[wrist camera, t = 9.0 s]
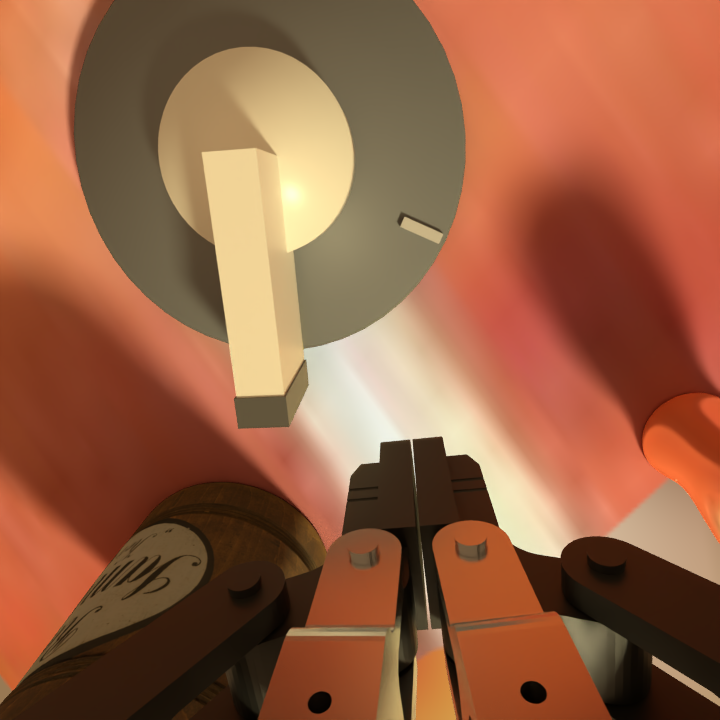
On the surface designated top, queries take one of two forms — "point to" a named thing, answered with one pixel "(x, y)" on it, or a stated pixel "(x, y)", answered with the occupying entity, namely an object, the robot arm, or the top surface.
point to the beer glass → (689, 449)
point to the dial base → (364, 115)
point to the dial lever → (258, 203)
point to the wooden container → (171, 577)
